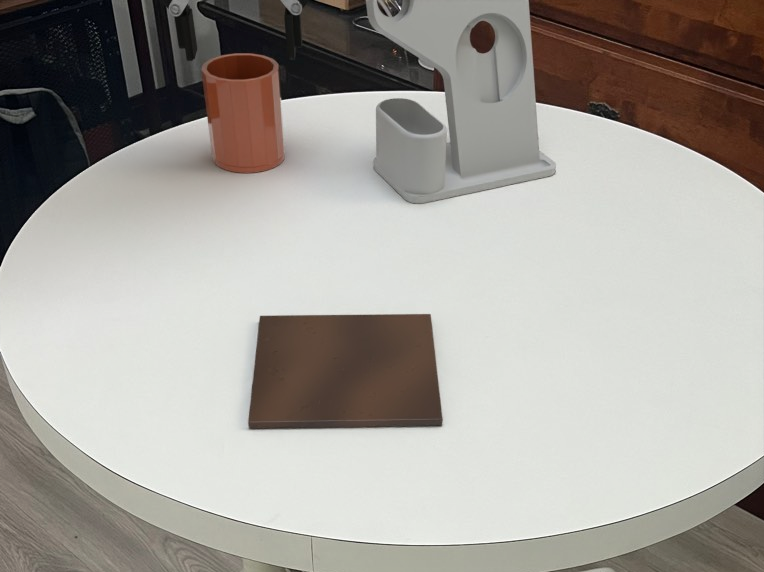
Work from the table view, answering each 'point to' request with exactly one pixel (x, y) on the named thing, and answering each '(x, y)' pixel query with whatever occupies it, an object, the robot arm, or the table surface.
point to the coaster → (345, 372)
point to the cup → (244, 112)
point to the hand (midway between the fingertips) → (242, 55)
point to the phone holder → (461, 102)
